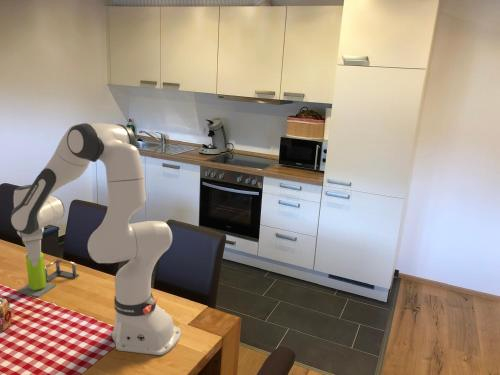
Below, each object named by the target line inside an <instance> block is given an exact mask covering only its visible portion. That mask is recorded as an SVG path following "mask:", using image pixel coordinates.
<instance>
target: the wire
mask: <svg viewBox="0 0 500 375" xmlns="http://www.w3.org/2000/svg"><path fill="white" fill-rule="evenodd" d="M60 263H62V264H66V265H71V269H72V272H70V271H65V270H61V265H60ZM54 264H55V271H53V272H51V274H49V275H48V268H49V267H51V266H53V265H54ZM44 266H45V276H46V283H50V282H51V281H53V280H55V279H56V278H58V277H63V278H68V279H72V280H75V279H77V278H78V277H79V276H80V274H78V273H77V267H76V266H77V264H76V262H74V261H73V262H72V261H68V260H63V259H55V260H53V261H52V262H50V263H48V264H46V265H44Z"/></svg>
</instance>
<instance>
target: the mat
mask: <svg viewBox="0 0 500 375" xmlns="http://www.w3.org/2000/svg"><path fill="white" fill-rule="evenodd" d="M56 286H57V285H56V284H54V283H50V282H46V286H45V287H44V288H42V289H38V290H32V289H30V288H29V283H27V284H26V285H24V286H23V287H20V288H19V289H17V290H16V292H17V293H18V294H23V295H27V296H30V297H35V298H38V299H39V298H40V297H42V296H43V295H45V294H46V293H48V292H50V291H51V290H52V289H54V288H55V287H56Z"/></svg>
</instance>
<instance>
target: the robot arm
mask: <svg viewBox="0 0 500 375" xmlns="http://www.w3.org/2000/svg"><path fill="white" fill-rule="evenodd" d="M136 142H137V141H136V136H135V133H134V131H133V130H132V129H131V127H128V126H126V125H123V124H119V123H118V124H112V123H104V122H93V123H87V122H86V123H85V122H84V123H77V124H73V125H71V126H70V127H68V129H67V131H66V132H65V133H64V134H63V136H62V138H61V139H60V141H59V143H58V145H57V147H56V149H55V151H54V154H53V155H52V157H51V158H50V160H49V161H48V162H47V164H46V165H45V166H44V168H43V169H42V170H41V171H40V172H39V174H38V175H37V177H36V178H35V179H34V181H33V182H32V184H27V185H22V186H19V187H17V188H16V189H14V191H13V209H12V211H11V214H10V224H11V226H12V227H13V229H14V230H15V231H16V233H17V235H18V236H19V237H20V239H21V241H22V242H24V243H25V244H24V246H25V251H26V255H28V258H29V261H32V266H37V265H38V263H37V260H39V259H40V257H41V252H42V239H43V233H44V231H45V227H47V226H50V225H51V224H54V223H56V222H58V221H60V220H61V219H63V217H64V215H65V206H64V203H63V202H62V200H61V199H60V198H59V197H57V196H55V195H52V194H53V193H54V192H55V191H58V189H60V188H62V187H64V186H65V185H67V184H70V183H72V182H73V181H75V180H77V179H79V178H80V177H82V175H83V174H84V173H85V171H86V170H87V168H88V167H89V165H90V163H91V162H93V163H95V162H97V161H98V160H99V161H101V162H102V163H103V164H104V166H105V167H104V168H105V175H106V176H105V177H106V185H107V210H106V214H105V215H104V218H103V220H102V222H101V223H100V225H99V226H98V227H97V229H95V230H94V231H93V232H92V233H91V235H90V236H89V238H88V241H87V251H88V255H89V257H90V258H91V259H92V260H93V261H94V262H96V263H98V264H114V263H119V262H121V263H122V262H125V261H128V262H127V263H126V264H124V265H123V266H122V267H121V268H119V269H118V271H117V272H116V275H115V277H114V290H115V291H114V292H115V295H114V299H113V300H114V303H113V306H114V307H113V308H114V310H115V317H114V318H115V319H114V326H113V330H112V333H111V338H112V340H113V341H114V343H115V349H116V350H117V351H121V352H129V353H130V352H131V353H137V354H148V355H156V356H162V355H163V356H164V355H165V354H166V353H168V352H170V350H172V349H173V348H174V347H175V345H176V344H177V343H178V342H179V340H180V338H181V335H182V332H181V331H182V330H181V328H180V327H179V326H176V325H175V324H174V320H173V318H172V316H171V315H170V314H169V313H168V312H167V311H166V310H165V309H163V308H161V307H160V306H159V305H158V304H157V302H158V300H159V297H158V296H157V297H156V298H154V295H153V293H152V287H151V286H152V285H151V284H152V274H153V271H154V269H155V268H154V267H155V266H156V264H157V262H158V261H159V260H160V258H161V257H162V255H163V254H164V253H166V252H167V251H168V250H169V249H170V247H171V245H172V242H173V233H172V230H171V227H170V226H169V225H168V223H167V222H165V221H161V220H147V221H139V222H134V223H133V222H132V223H130V220H131V218H132V216H133V215H134V214H135V213H137V212H138V211H140V210H142V208H143V207H144V206H145V204H146V201H147V196H146V194H147V193H146V183H145V174H144V172H145V171H144V168H143V162H142V158H141V154H140V152H139V149H138V148H137V147H136Z"/></svg>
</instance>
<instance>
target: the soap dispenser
mask: <svg viewBox="0 0 500 375" xmlns="http://www.w3.org/2000/svg"><path fill="white" fill-rule="evenodd" d="M21 244H23V245H25V243H24V241H22V242H21ZM25 261H26V269H27V279H28V284H29V288H30V289H32V290H38V289H42V288H44V287H45V286H46V283H47V282H46V276H45V266H46V265H45V258H44V253H43V252H42V251H41V257H40V259H39V260H37V263H38V265H37V266H32V261H29V258H28V255H27V254H26V255H25Z"/></svg>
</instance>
